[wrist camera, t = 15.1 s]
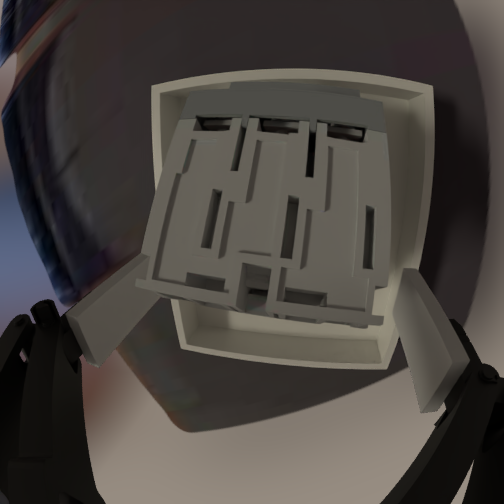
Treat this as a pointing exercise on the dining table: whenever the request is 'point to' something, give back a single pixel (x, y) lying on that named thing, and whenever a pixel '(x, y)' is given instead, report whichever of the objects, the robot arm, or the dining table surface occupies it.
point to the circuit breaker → (275, 204)
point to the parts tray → (402, 227)
